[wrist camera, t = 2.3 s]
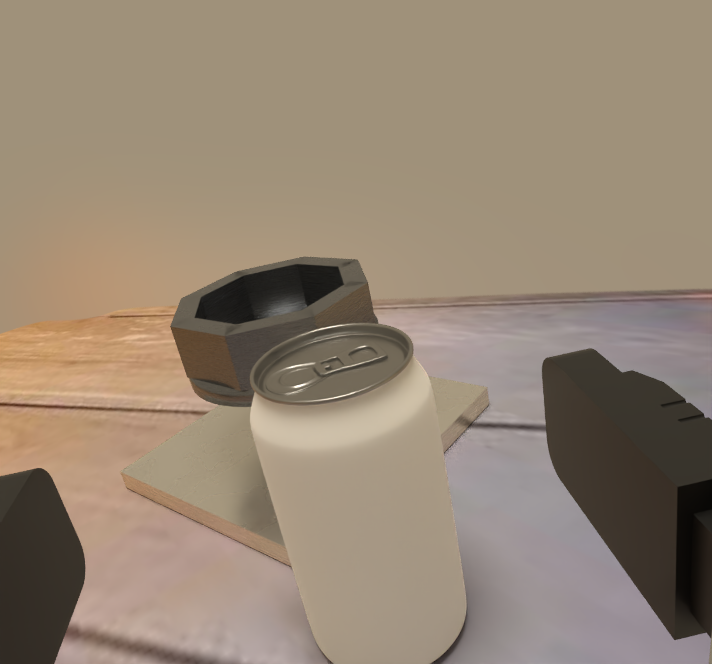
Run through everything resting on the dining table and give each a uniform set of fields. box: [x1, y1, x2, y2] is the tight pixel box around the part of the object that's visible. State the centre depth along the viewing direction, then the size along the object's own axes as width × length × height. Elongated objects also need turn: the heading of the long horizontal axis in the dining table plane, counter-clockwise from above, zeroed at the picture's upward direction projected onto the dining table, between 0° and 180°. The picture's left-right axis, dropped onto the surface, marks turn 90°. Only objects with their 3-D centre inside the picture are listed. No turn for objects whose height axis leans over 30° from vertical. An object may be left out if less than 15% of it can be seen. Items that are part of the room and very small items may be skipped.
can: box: [250, 323, 467, 664], centre depth 24 cm, size 6×6×12 cm
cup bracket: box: [120, 257, 489, 567], centre depth 37 cm, size 16×16×10 cm
